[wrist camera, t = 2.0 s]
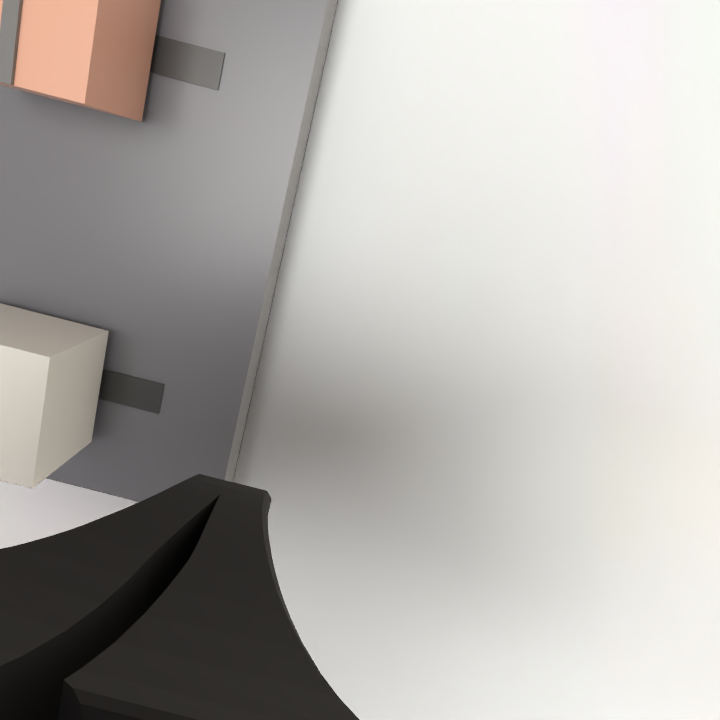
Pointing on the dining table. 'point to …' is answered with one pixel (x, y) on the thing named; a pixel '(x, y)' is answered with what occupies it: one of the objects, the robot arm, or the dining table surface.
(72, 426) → the fader white
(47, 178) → the console
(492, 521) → the dining table surface
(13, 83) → the fader terracotta
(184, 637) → the robot arm
